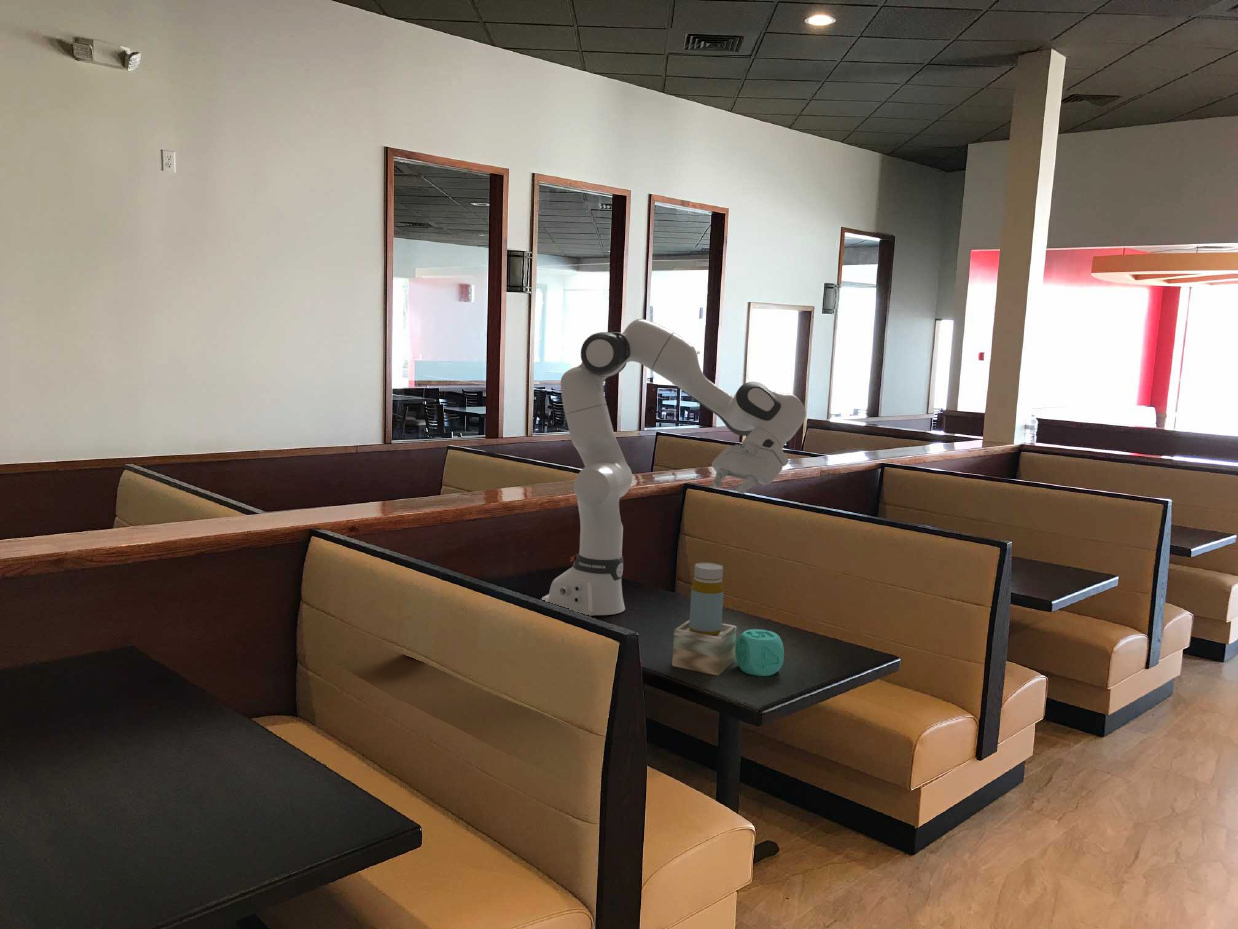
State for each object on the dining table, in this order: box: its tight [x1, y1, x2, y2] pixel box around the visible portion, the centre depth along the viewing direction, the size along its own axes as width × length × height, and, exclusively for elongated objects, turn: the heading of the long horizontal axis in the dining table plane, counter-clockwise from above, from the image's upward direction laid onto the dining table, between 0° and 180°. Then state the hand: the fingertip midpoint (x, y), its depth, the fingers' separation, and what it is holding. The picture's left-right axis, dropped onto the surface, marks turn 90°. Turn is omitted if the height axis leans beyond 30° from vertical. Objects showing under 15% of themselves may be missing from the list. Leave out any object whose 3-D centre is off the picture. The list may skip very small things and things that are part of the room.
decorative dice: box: [735, 628, 785, 677], centre depth 202 cm, size 8×8×8 cm
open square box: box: [671, 619, 738, 676], centre depth 204 cm, size 11×11×8 cm
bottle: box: [689, 562, 725, 636], centre depth 203 cm, size 7×7×15 cm
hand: (726, 488), depth 226 cm, fingers open, 8 cm apart
